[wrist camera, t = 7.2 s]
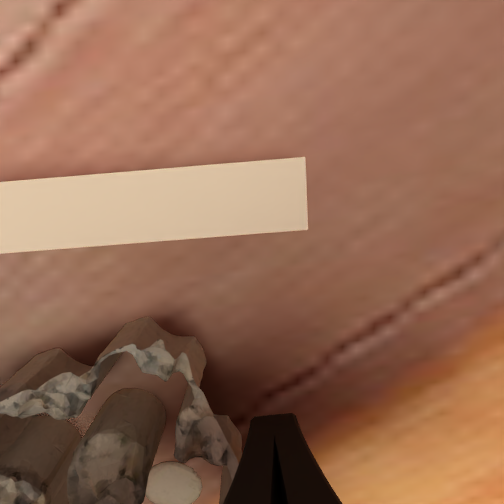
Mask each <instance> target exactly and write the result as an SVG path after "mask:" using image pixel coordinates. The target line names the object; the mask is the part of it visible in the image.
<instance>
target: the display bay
mask: <svg viewBox="0 0 504 504" xmlns="http://www.w3.org/2000/svg"><path fill="white" fill-rule="evenodd" d="M298 230H308V214H307V187H306V160H305V157H298V158H286V159H274V160H262V161H250V162H237V163H225V164H213V165H201V166H189V167H177V168H165V169H153V170H140V171H128V172H116V173H104V174H92V175H80V176H68V177H56V178H44V179H31V180H19V181H7V182H0V254H2V253H15V252H28V251H41V250H54V249H67V248H79V247H92V246H105V245H118V244H131V243H144V242H157V241H169V240H182V239H195V238H208V237H221V236H234V235H247V234H259V233H272V232H285V231H298Z"/></svg>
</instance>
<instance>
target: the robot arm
mask: <svg viewBox="0 0 504 504" xmlns="http://www.w3.org/2000/svg"><path fill="white" fill-rule="evenodd" d="M223 504H342V502H341V501H340V499H339V498H338V496H337V495H336V493H335V492H334V490H333V489H332V487H331V485H330V484H329V482H328V481H327V479H326V477H325V476H324V474H323V472H322V470H321V469H320V467H319V465H318V463H317V462H316V460H315V458H314V456H313V454H312V453H311V451H310V449H309V447H308V445H307V443H306V441H305V438H304V436H303V434H302V432H301V429H300V427H299V424H298V421H297V418H296V416H295V415H294V414H293V413H287V414H278V415H268V416H258V417H254V418H253V419H252V420H251V423H250V428H249V433H248V437H247V440H246V444H245V447H244V450H243V454H242V457H241V459H240V462H239V465H238V468H237V471H236V473H235V476H234V479H233V481H232V484H231V486H230V489H229V491H228V493H227V496H226V498H225V500H224V503H223Z"/></svg>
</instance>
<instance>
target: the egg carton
mask: <svg viewBox="0 0 504 504" xmlns="http://www.w3.org/2000/svg"><path fill="white" fill-rule="evenodd" d="M124 351H127V352H129V353H131V354H132V355H133V356H134V358H135V360H136V362H137V364H138V366H139V367H140V369H141V371H142V372H143V373H148V374H153V375H157V376H159V377H160V378H161V379H163V380H164V381H165V382H166V381H168V379H169V378H170V377H171V375H172V374H173V373H175V372H178V371H180V372H182V373H183V374H184V376H185V378H186V380H187V382H188V387H187V390H186V393H185V396H184V399H183V403H182V406H181V409H180V412H179V415H178V418H177V421H176V429H175V437H176V444H175V452H174V457H175V459H177V460H178V461H179V462H181V463H179V462H173V461H167V462H161V463H159V464H157V465H155V466H153V467H152V464H153V460H154V457H155V454H156V451H157V448H158V445H159V442H160V439H161V435H162V432H163V429H164V426H165V422H166V412H165V409H164V407H163V404H162V403H161V402H160V401H159V400H158V398H157V397H156V396H154V395H153V394H151V393H149V392H148V391H145V390H142V389H138V388H130V389H128V388H125V389H121V390H120V391H117V392H115V393H114V394H112V395H111V396H110V397H109V398H108V399H107V401H106V402H105V403H104V405H103V406H102V408H101V409H100V411H99V413H98V414H97V416H96V417H95V419H94V421H93V422H92V424H91V425H90V427H89V429H88V430H87V432H86V433H85V435H84V437H83V438H81V436H80V434H79V432H78V430H77V429H76V428H75V427H74V426H73V425H72V424H71V423H70V422H68V421H66V419H69V418H76V417H78V416H79V415H80V414H81V412H82V410H83V408H84V407H85V405H86V403H87V401H88V400H89V399H91V397H92V395H93V393H94V392H95V390H96V389H97V388H98V386H99V385H100V384H101V382H102V381H103V379H104V378H105V376H106V375H107V374H108V372H109V371H110V370H111V368H112V367H113V365H114V364H115V362H116V361H117V359H118V358H119V357H120V355H121V354H122V352H124ZM206 362H207V360H206V357H205V354H204V350H203V349H202V346H201V344H200V343H199V342H198V340H197V339H196V338H195V337H194V336H177V335H173V334H170V333H169V332H167V331H165V330H163V329H162V328H161V327H160V326H159V325H158V324H157V323H156V322H155V321H154V320H153V319H152V318H150V317H149V316H148V317H144V318H140V319H138V320H135V321H133V322H129V323H127V324H125V325H124V326H123V328H122V329H121V330H120V331H119V332H118V334H117V336H116V337H115V338H114V339H113V340H112V341H111V342H110V344H109V345H108V346H107V347H106V349H105V350H104V351H103V352H102V353H101V354H100V355H99V357H98V359H97V361H96V362H95V365H94V366H93V367H92V366H89V365H85V364H82V363H80V362H78V361H76V360H74V359H73V358H71V357H70V356H69V355H68V354H67V353H65V352H64V351H63V350H62V349H61V348H54V349H52V350H49V351H46V352H43V353H40V354H37V355H36V356H34V357H33V358H32V359H31V360H30V361H29V362H28V363H27V364H26V365H25V366H24V367H22V368H21V369H20V370H18V371H17V372H16V374H15V375H14V376H13V377H11V378H10V379H9V380H8V381H7V382H6V383H4V384H3V385H2V386H1V387H0V504H142V502H143V501H144V497H145V494H146V497H147V498H148V499H149V500H150V501H151V502H152V503H154V504H192V503H193V502H195V500H196V499H197V498H198V497H199V496H200V492H201V490H202V483H201V478H200V477H199V476H198V475H197V472H195V471H194V469H193V468H191V467H189V466H187V465H185V464H182V463H186V462H187V461H188V460H189V459H191V458H194V457H202V458H203V459H205V460H206V461H208V462H209V463H211V464H214V465H217V466H223V469H222V476H221V489H220V502H219V504H223V503H224V500H225V498H226V496H227V493H228V491H229V489H230V486H231V484H232V481H233V479H234V476H235V473H236V471H237V468H238V465H239V462H240V459H241V457H242V450H241V448H242V436H241V434H240V432H239V431H238V429H237V428H236V427H235V425H234V424H233V423H232V421H231V420H230V418H229V416H228V415H216V414H213V413H212V411H211V409H210V407H209V404H208V402H207V400H206V397H205V395H204V393H203V391H202V390H201V389H200V388H199V387H200V382H201V379H202V377H203V370H204V368H205V366H206ZM43 412H45V413H48V414H49V415H50V416H47V415H46V416H36V414H40V413H43ZM151 467H152V468H151Z"/></svg>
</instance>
